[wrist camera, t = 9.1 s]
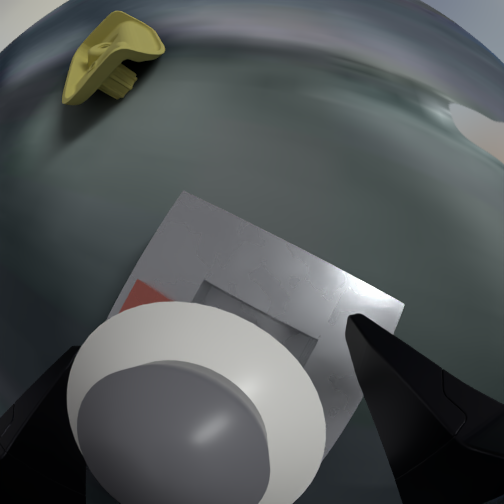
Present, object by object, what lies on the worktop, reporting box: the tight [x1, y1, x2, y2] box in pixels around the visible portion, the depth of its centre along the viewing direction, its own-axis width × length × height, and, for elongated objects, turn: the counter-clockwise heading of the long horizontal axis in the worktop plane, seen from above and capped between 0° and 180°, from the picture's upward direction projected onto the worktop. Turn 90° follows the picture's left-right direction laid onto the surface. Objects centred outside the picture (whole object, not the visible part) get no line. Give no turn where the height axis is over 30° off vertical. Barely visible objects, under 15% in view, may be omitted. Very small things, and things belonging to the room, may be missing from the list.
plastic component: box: [62, 11, 165, 105], centre depth 22 cm, size 20×7×10 cm
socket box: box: [106, 191, 405, 462], centre depth 14 cm, size 14×14×4 cm
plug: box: [67, 301, 326, 504], centre depth 9 cm, size 5×5×12 cm
